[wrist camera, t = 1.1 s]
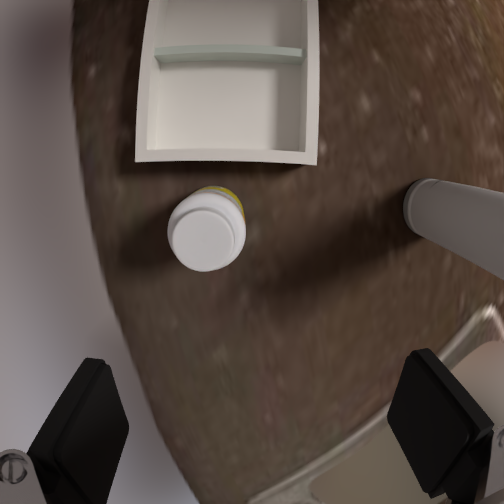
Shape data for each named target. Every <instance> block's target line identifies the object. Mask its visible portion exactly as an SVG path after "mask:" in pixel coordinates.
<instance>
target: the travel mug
mask: <svg viewBox="0 0 504 504" xmlns="http://www.w3.org/2000/svg"><path fill="white" fill-rule="evenodd" d="M403 213H404V218H405V221H406V223H407V225H408V227H409V228H410V229H411V230H412V231H413V232H414V233H416V234H418V235H420V236H423V237H424V238H426V239H428V240H430V241H432V242H434V243H436V244H438V245H440V246H442V247H444V248H446V249H448V250H450V251H452V252H454V253H456V254H458V255H460V256H461V257H463V258H465V259H467V260H469V261H471V262H473V263H474V264H476V265H478V266H480V267H482V268H483V269H485V270H487V271H489V272H491V273H492V274H494V275H496V276H498V277H499V278H501V279H503V280H504V193H501V192H497V191H492V190H488V189H483V188H479V187H474V186H469V185H464V184H459V183H453V182H448V181H442V180H436V179H430V178H423V179H420V180H418V181H416V182H415V183H414V184H412V186H411V187H410V188H409V189H408V191H407V193H406V196H405V199H404V204H403Z"/></svg>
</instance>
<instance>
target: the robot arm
mask: <svg viewBox="0 0 504 504" xmlns="http://www.w3.org/2000/svg"><path fill="white" fill-rule="evenodd" d="M387 420H388V423H389V425H390V427H391V429H392V431H393V433H394V435H395V437H396V438H397V440H398V442H399V444H400V446H401V448H402V450H403V452H404V454H405V456H406V458H407V460H408V462H409V464H410V466H411V468H412V470H413V472H414V474H415V476H416V478H417V480H418V482H419V484H420V486H421V488H422V490H423V491H424V492H425V493H428V494H429V496H430V498H431V499H432V498H434V497H436V496H439V495H441V494H444V493H445V492H446V494H447V496H448V498H447V501H446V504H504V425H502V426H500V427H499V428H497V429H496V430H495V432H494V431H493V430H492V428H493V426H494V423H493V422H492V421H491V419H490V418H489V417H488V416H487V414H486V413H485V412H484V411H483V409H482V408H481V407H480V406H479V405H478V403H477V402H476V401H475V400H474V399H473V398H472V396H471V395H470V394H469V393H468V392H467V391H466V389H465V388H464V387H463V386H462V385H461V383H460V382H459V381H458V380H457V379H456V378H455V377H454V375H453V374H452V373H451V372H450V371H449V370H448V369H447V368H446V366H445V365H444V364H443V363H442V362H441V361H440V360H439V359H438V358H437V356H436V355H435V354H434V353H433V352H432V351H431V350H430V349H428V348H425V349H420V350H414V351H412V352H411V353H410V356H408V357H407V358H406V360H405V364H404V367H403V370H402V373H401V376H400V379H399V382H398V385H397V388H396V391H395V394H394V397H393V400H392V403H391V405H390V408H389V411H388V414H387ZM128 432H129V423H128V420H127V417H126V415H125V412H124V409H123V406H122V403H121V400H120V397H119V394H118V390H117V387H116V384H115V381H114V377H113V374H112V370H111V367H110V366H109V365H107V364H106V363H105V361H104V360H102V359H93V358H85V359H84V361H83V362H82V364H81V365H80V367H79V368H78V370H77V371H76V373H75V374H74V376H73V377H72V379H71V380H70V382H69V383H68V385H67V387H66V388H65V390H64V391H63V393H62V394H61V396H60V397H59V399H58V401H57V402H56V404H55V406H54V407H53V409H52V410H51V412H50V414H49V415H48V417H47V419H46V420H45V422H44V424H43V425H42V427H41V429H40V430H39V432H38V434H37V435H36V437H35V439H34V441H33V442H32V444H31V446H30V448H29V450H28V452H27V453H24V452H22V451H20V450H16V449H9V450H5V451H3V452H1V453H0V504H106V503H107V500H108V496H109V492H110V489H111V486H112V483H113V479H114V476H115V473H116V470H117V467H118V463H119V460H120V457H121V453H122V451H123V448H124V445H125V441H126V438H127V435H128Z"/></svg>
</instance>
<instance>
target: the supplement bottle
mask: <svg viewBox="0 0 504 504" xmlns="http://www.w3.org/2000/svg"><path fill="white" fill-rule="evenodd" d="M167 232H168V240H169V244H170V247H171V249H172V251H173V252H174V254H175V255H176V257H177V258H178V259H179V261H180V262H181V263H182V264H184V265H185V266H186V267H188V268H190V269H192V270H196V271H203V272H205V271H211V270H217V269H220V268H222V267H225V266H226V265H228V264H230V263H231V262H232V261H233V260H234V259H235V258H236V257H237V256H238V255H239V253H240V252H241V250H242V248H243V245H244V242H245V237H246V227H245V219H244V211H243V207H242V204H241V202H240V200H239V199H238V197H237V196H236V195H235V194H234V193H233V192H232V191H230V190H229V189H227V188H224V187H221V186H206V187H203V188H201V189H198V190H197V191H195V192H194V193H192V194H191V195H190V196H188V197H187V198H186V199H184V200H183V201H182V202H180V203H179V204H178V206H177V207H176V208H175V209H174V211H173V213H172V214H171V217H170V219H169V223H168V230H167Z"/></svg>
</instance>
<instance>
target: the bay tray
mask: <svg viewBox="0 0 504 504" xmlns="http://www.w3.org/2000/svg"><path fill="white" fill-rule="evenodd" d="M318 118H319V14H318V0H149V5H148V11H147V17H146V24H145V31H144V38H143V46H142V55H141V64H140V74H139V86H138V100H137V117H136V145H135V162H152V161H254V162H277V163H294V164H309V165H317V147H318Z"/></svg>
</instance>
